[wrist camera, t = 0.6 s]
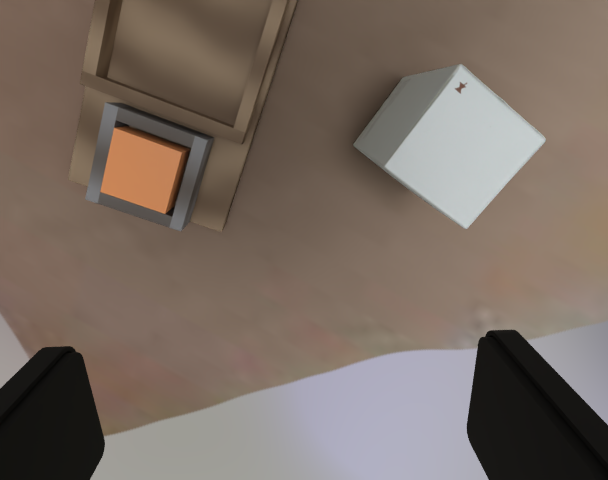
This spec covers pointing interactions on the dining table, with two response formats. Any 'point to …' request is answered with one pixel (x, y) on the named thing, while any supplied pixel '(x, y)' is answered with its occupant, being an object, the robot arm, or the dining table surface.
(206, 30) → the tray
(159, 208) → the button
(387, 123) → the supplement box
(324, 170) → the dining table surface
